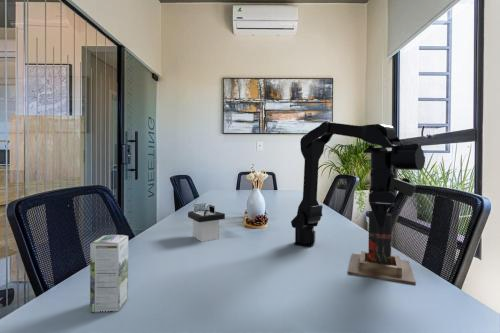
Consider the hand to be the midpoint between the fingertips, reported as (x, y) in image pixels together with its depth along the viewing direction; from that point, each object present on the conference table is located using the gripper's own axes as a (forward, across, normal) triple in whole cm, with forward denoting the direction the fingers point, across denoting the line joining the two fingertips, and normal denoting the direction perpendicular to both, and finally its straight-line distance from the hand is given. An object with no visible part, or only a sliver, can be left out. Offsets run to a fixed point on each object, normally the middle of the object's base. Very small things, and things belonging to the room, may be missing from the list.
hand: (380, 223), depth 80 cm
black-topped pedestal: (+13, +6, +62) cm, 64 cm away
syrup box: (+13, -46, +53) cm, 71 cm away
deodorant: (+12, 0, 0) cm, 12 cm away
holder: (+13, 0, 0) cm, 13 cm away
